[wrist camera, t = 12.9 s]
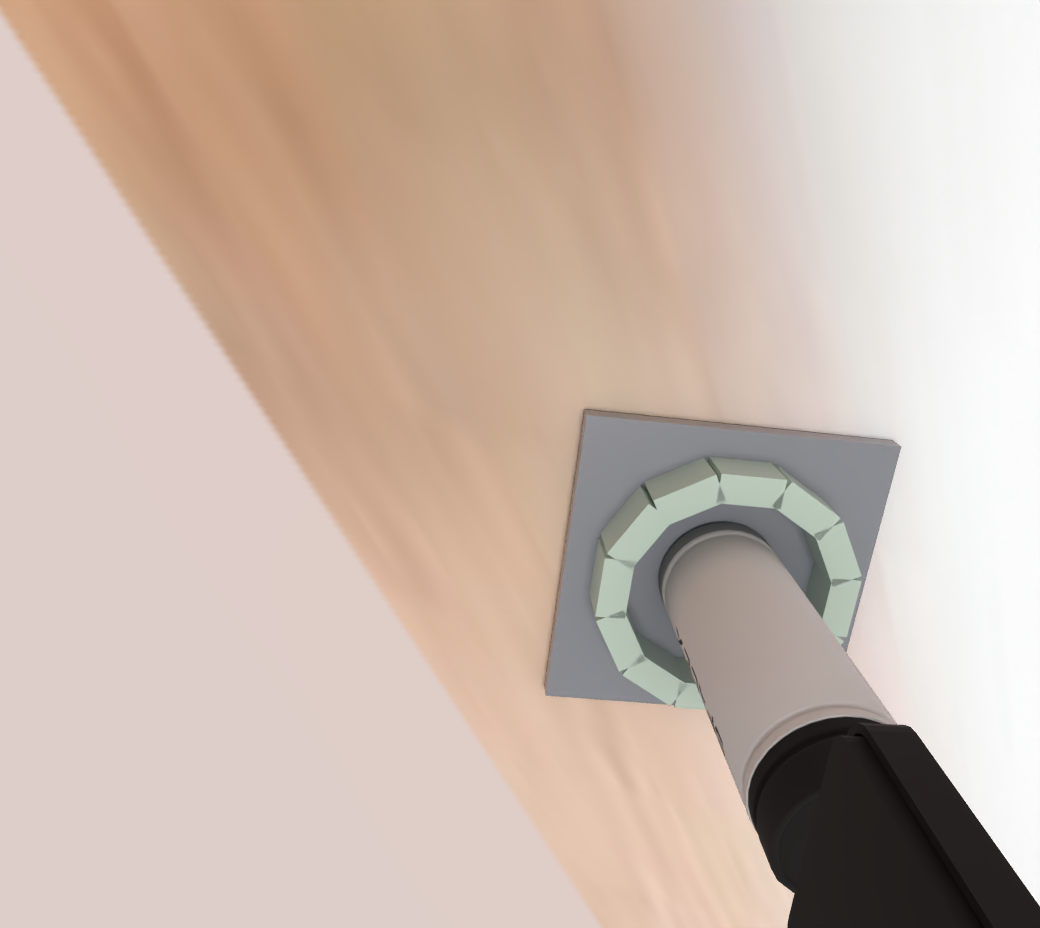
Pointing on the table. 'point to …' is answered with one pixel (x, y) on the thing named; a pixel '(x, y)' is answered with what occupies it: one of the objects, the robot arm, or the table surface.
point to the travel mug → (764, 678)
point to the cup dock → (687, 506)
